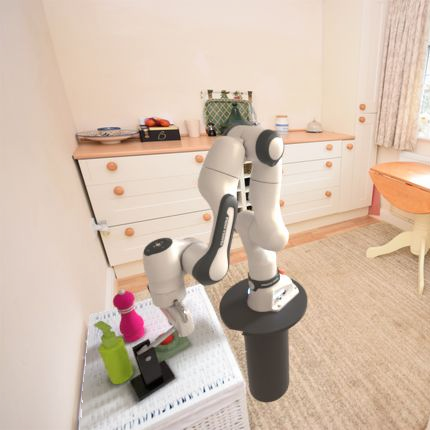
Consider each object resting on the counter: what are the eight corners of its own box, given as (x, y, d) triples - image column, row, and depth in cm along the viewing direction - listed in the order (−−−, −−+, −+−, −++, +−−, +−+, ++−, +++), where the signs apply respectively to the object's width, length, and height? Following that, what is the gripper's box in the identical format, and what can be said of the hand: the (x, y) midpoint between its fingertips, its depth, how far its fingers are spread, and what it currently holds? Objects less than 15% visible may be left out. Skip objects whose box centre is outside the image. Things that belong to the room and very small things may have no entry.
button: (170, 333, 100) (169, 329, 99) (175, 340, 98) (174, 336, 97) (157, 340, 97) (156, 336, 97) (162, 347, 95) (161, 343, 94)
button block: (179, 332, 105) (177, 324, 103) (189, 345, 100) (187, 336, 99) (146, 350, 98) (144, 342, 96) (155, 365, 93) (153, 356, 91)
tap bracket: (165, 362, 94) (156, 330, 88) (175, 378, 89) (167, 345, 83) (130, 383, 87) (118, 350, 81) (139, 401, 82) (127, 367, 77)
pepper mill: (151, 329, 106) (138, 284, 98) (136, 344, 100) (121, 298, 91) (133, 325, 107) (120, 281, 99) (117, 341, 101) (101, 295, 92)
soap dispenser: (123, 362, 93) (107, 314, 85) (137, 371, 91) (121, 323, 82) (104, 377, 88) (84, 328, 80) (118, 387, 86) (99, 337, 77)
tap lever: (177, 322, 91) (173, 318, 89) (184, 331, 88) (180, 326, 86) (139, 353, 85) (134, 349, 83) (145, 363, 82) (140, 359, 80)
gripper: (196, 305, 79) (203, 342, 84) (166, 273, 91) (173, 307, 97) (172, 317, 75) (181, 355, 80) (144, 281, 87) (153, 317, 93)
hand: (176, 328), depth 89 cm, fingers closed on tap lever, 5 cm apart
